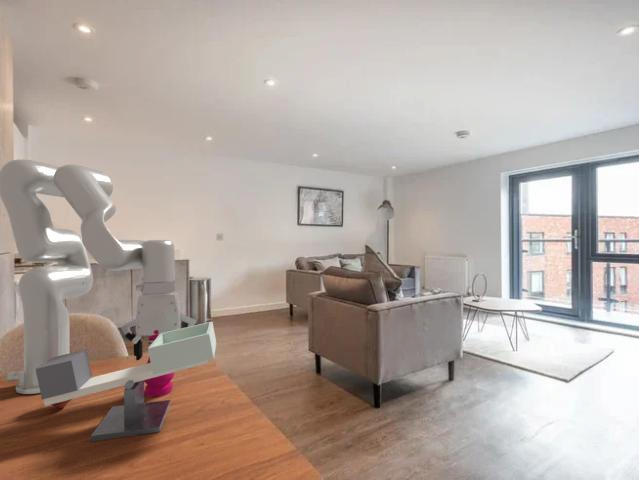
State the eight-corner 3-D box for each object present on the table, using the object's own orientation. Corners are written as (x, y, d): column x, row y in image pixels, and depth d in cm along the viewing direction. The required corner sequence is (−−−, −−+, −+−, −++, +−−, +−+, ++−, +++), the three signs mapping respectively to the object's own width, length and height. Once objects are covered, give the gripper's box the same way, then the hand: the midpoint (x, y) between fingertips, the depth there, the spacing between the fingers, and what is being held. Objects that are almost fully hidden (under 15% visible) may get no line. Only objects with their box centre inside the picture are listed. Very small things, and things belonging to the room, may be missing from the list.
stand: (90, 441, 64) (90, 398, 64) (112, 411, 75) (112, 375, 75) (159, 431, 67) (159, 391, 67) (170, 404, 78) (170, 369, 78)
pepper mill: (162, 399, 81) (161, 315, 81) (136, 396, 82) (135, 314, 82) (180, 386, 88) (180, 310, 88) (156, 384, 89) (155, 309, 89)
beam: (37, 416, 62) (28, 373, 61) (67, 390, 73) (59, 353, 73) (215, 369, 70) (208, 330, 69) (218, 351, 81) (211, 318, 81)
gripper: (115, 292, 79) (117, 365, 79) (193, 288, 84) (195, 357, 84) (125, 288, 87) (126, 355, 86) (196, 285, 91) (198, 348, 91)
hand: (160, 356), depth 85 cm, fingers open, 9 cm apart
